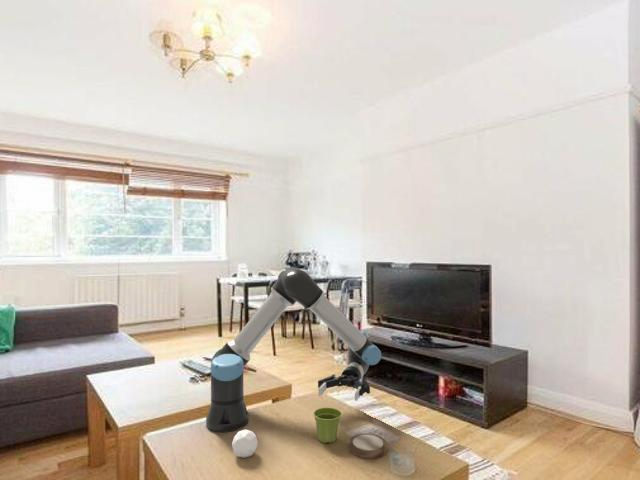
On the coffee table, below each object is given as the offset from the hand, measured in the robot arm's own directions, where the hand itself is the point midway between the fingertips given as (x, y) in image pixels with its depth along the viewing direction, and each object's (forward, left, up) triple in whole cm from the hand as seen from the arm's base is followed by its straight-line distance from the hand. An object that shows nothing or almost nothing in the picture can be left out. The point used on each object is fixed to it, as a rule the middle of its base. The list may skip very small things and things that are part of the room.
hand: (337, 394), depth 146 cm
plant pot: (-10, -3, -11) cm, 15 cm away
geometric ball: (-34, +11, -11) cm, 37 cm away
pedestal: (-7, -17, -11) cm, 21 cm away
